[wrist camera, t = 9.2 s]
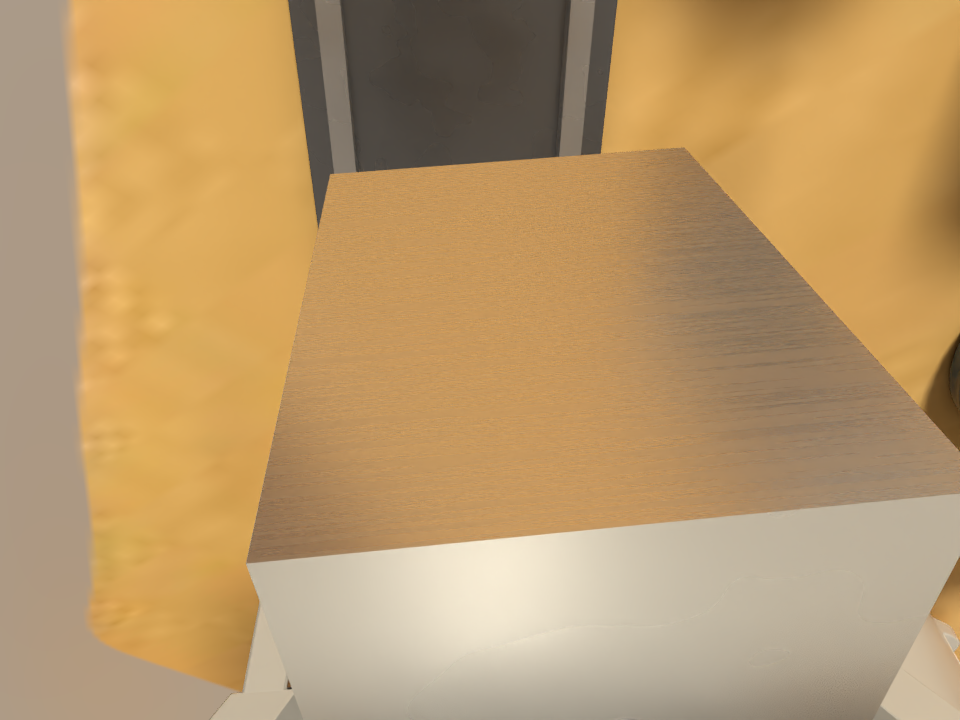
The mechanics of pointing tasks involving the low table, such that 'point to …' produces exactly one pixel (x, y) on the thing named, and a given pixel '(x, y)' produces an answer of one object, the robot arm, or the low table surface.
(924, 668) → the robot arm
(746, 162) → the low table surface
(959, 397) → the canister
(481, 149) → the plate
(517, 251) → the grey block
